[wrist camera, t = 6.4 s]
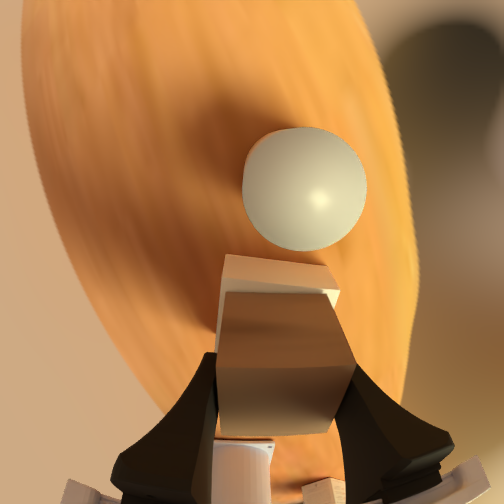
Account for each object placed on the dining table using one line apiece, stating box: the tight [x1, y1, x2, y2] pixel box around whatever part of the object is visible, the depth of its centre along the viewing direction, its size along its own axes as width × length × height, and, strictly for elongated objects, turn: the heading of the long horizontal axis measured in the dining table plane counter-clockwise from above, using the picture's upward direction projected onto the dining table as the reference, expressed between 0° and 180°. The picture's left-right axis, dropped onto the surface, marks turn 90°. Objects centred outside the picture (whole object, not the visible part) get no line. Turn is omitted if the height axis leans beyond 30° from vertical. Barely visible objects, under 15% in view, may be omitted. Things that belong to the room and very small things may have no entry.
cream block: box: [214, 254, 340, 353], centre depth 16 cm, size 6×6×3 cm
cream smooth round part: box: [242, 127, 367, 251], centre depth 12 cm, size 4×4×5 cm
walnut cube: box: [216, 292, 357, 436], centre depth 12 cm, size 5×5×5 cm
